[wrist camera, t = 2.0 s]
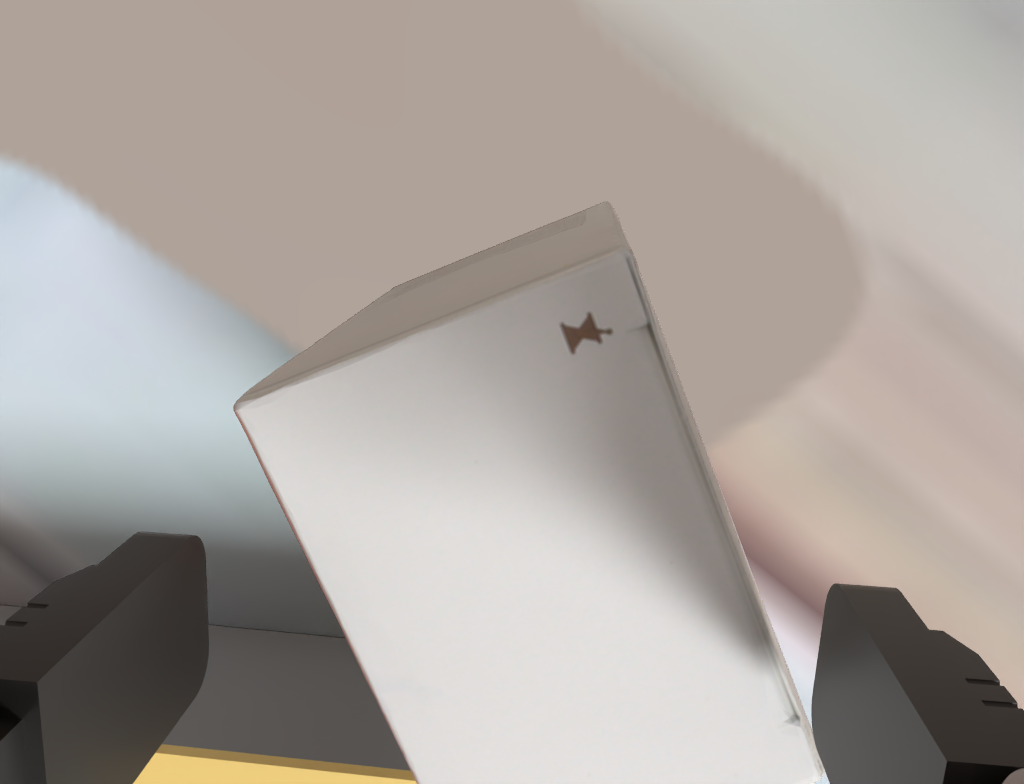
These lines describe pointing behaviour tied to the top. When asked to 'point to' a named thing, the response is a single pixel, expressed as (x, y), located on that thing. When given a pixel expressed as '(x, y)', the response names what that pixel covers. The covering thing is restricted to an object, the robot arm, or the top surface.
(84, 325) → the top surface
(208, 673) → the loading dock
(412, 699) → the small box
